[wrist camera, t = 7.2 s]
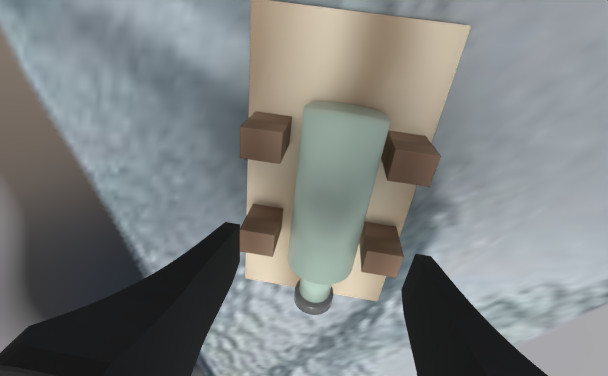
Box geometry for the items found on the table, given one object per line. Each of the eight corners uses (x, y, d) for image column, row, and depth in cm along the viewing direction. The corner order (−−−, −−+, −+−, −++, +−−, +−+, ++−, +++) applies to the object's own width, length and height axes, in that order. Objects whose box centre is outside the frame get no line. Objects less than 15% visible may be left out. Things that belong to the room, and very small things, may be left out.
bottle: (379, 106, 16) (401, 131, 12) (339, 278, 22) (346, 327, 18) (304, 98, 15) (303, 121, 12) (284, 273, 21) (280, 322, 18)
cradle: (465, 25, 14) (500, 25, 11) (376, 292, 23) (381, 335, 20) (255, -1, 14) (230, -8, 11) (248, 270, 23) (233, 309, 20)
